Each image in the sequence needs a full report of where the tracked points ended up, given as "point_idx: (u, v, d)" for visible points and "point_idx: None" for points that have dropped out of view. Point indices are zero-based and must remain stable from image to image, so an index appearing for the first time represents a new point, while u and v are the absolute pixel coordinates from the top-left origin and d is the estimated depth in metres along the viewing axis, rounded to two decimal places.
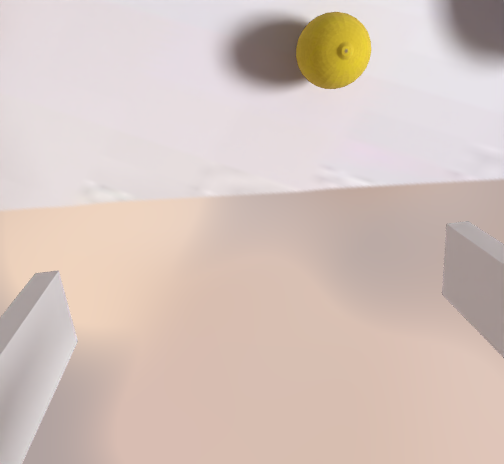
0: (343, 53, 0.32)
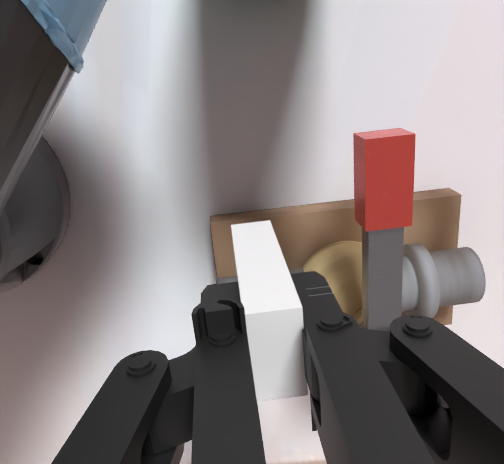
0: None
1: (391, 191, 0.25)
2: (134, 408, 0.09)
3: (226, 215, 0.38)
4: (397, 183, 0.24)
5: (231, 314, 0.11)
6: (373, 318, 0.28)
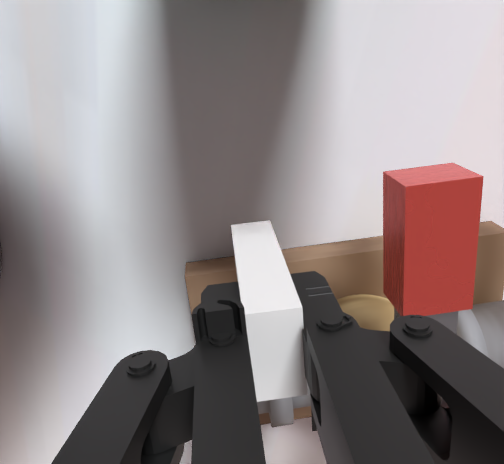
0: None
1: (443, 261, 0.16)
2: (134, 408, 0.09)
3: (206, 262, 0.29)
4: (453, 250, 0.16)
5: (231, 314, 0.11)
6: None
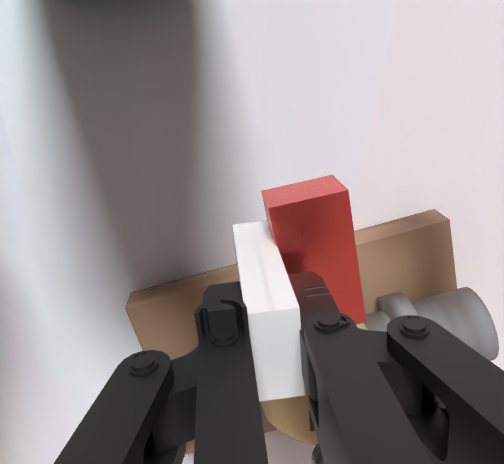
0: None
1: (324, 278, 0.16)
2: (137, 408, 0.09)
3: (150, 290, 0.29)
4: (332, 265, 0.16)
5: (234, 314, 0.11)
6: None
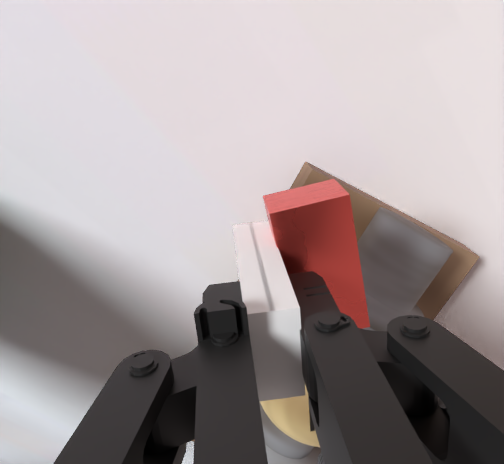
0: None
1: (327, 283, 0.16)
2: (136, 408, 0.09)
3: None
4: (335, 270, 0.16)
5: (233, 314, 0.11)
6: None
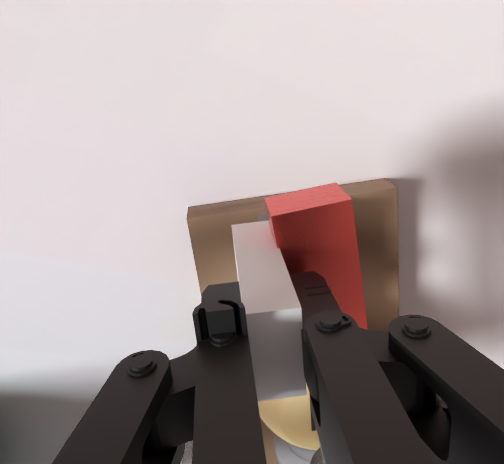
0: None
1: None
2: (135, 408, 0.09)
3: None
4: (335, 274, 0.16)
5: (232, 314, 0.11)
6: None
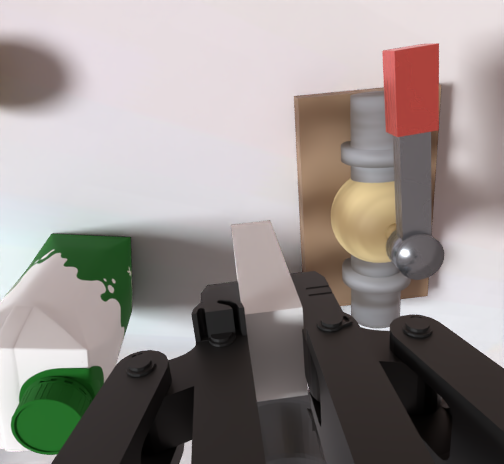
0: None
1: (419, 98, 0.28)
2: (134, 408, 0.09)
3: None
4: (424, 90, 0.28)
5: (231, 314, 0.11)
6: (406, 220, 0.31)
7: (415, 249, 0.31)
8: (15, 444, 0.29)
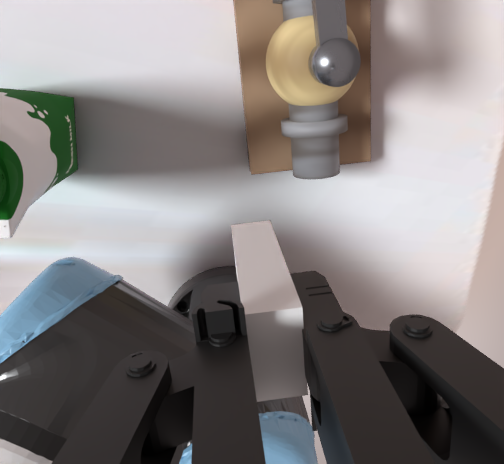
0: None
1: None
2: (134, 408, 0.09)
3: None
4: None
5: (231, 314, 0.11)
6: (321, 23, 0.32)
7: (331, 52, 0.32)
8: None
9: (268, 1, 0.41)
